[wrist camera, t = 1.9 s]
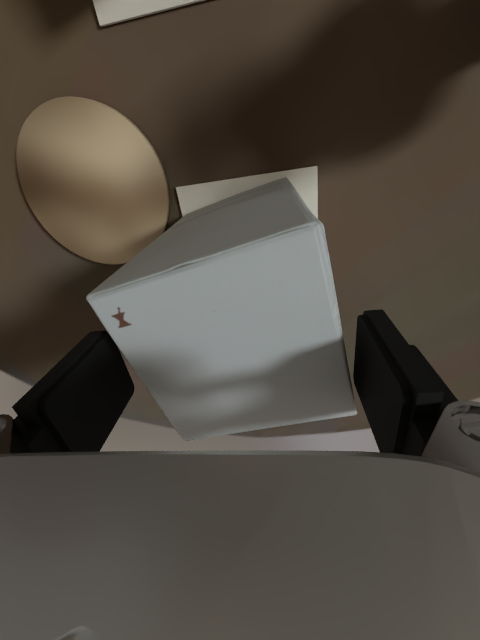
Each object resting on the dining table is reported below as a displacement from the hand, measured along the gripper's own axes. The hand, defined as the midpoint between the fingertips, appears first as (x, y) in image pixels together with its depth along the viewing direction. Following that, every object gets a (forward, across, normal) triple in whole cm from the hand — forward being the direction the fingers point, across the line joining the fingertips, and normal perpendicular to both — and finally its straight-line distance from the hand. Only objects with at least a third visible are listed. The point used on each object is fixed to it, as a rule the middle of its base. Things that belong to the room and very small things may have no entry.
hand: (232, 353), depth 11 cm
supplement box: (+11, 0, -1) cm, 11 cm away
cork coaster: (+11, +10, -6) cm, 16 cm away
